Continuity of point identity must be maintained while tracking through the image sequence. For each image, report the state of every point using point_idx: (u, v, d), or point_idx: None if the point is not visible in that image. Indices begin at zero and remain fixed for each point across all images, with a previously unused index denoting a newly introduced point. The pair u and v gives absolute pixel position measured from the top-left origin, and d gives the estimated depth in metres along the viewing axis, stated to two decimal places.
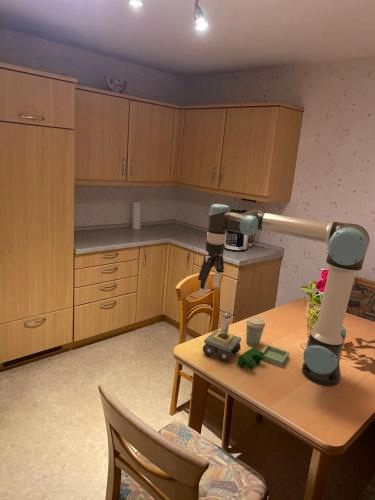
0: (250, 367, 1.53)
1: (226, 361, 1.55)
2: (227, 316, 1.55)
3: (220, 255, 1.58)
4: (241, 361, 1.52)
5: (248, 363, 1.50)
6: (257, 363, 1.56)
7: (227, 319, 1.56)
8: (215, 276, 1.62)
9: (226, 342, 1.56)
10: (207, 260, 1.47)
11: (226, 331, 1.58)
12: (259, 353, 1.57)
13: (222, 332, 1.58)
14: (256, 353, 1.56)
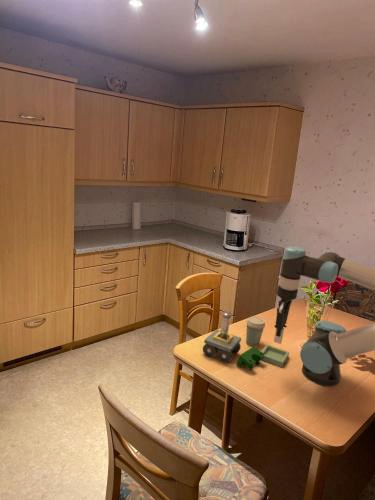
0: (250, 367, 1.53)
1: (226, 361, 1.55)
2: (227, 316, 1.55)
3: None
4: (241, 361, 1.52)
5: (247, 363, 1.50)
6: (257, 363, 1.56)
7: (227, 319, 1.56)
8: None
9: (226, 342, 1.56)
10: (281, 312, 1.39)
11: (226, 331, 1.58)
12: (259, 353, 1.57)
13: (222, 332, 1.58)
14: (255, 352, 1.56)
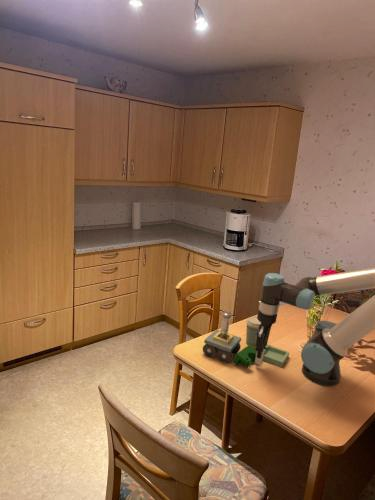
0: (246, 365, 1.54)
1: (226, 361, 1.55)
2: (227, 316, 1.55)
3: None
4: (237, 359, 1.53)
5: (244, 361, 1.51)
6: (253, 361, 1.57)
7: (227, 319, 1.56)
8: None
9: (226, 342, 1.56)
10: (261, 336, 1.45)
11: (226, 331, 1.58)
12: (255, 351, 1.58)
13: (222, 332, 1.58)
14: (251, 351, 1.57)
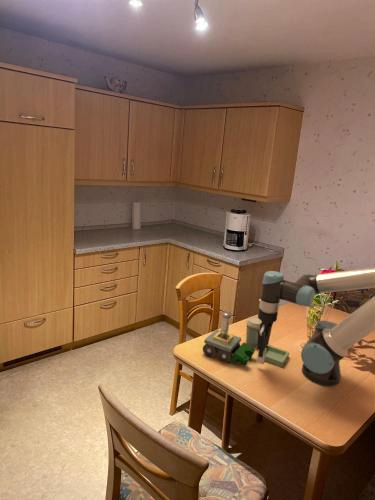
0: (244, 363, 1.55)
1: (226, 361, 1.55)
2: (227, 316, 1.55)
3: None
4: (235, 358, 1.53)
5: (243, 360, 1.52)
6: (249, 358, 1.59)
7: (227, 319, 1.56)
8: None
9: (226, 342, 1.56)
10: (262, 335, 1.44)
11: (226, 331, 1.58)
12: (250, 348, 1.60)
13: (222, 332, 1.58)
14: (247, 348, 1.59)
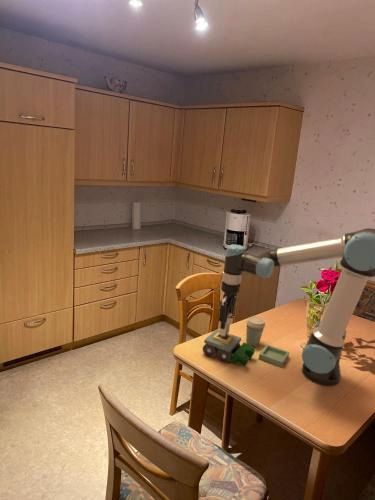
0: (244, 363, 1.55)
1: (226, 361, 1.55)
2: None
3: (234, 296, 1.59)
4: (235, 358, 1.53)
5: (243, 360, 1.52)
6: (249, 358, 1.59)
7: (228, 319, 1.56)
8: None
9: (226, 342, 1.56)
10: (223, 305, 1.50)
11: (226, 331, 1.58)
12: (250, 348, 1.60)
13: None
14: (247, 348, 1.59)
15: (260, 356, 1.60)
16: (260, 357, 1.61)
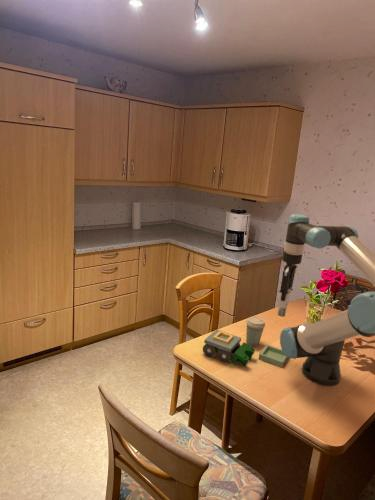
0: (244, 363, 1.55)
1: (226, 361, 1.55)
2: None
3: None
4: (235, 358, 1.53)
5: (243, 360, 1.52)
6: (248, 358, 1.59)
7: None
8: None
9: (226, 342, 1.56)
10: (286, 275, 1.47)
11: (285, 307, 1.55)
12: (250, 348, 1.60)
13: (281, 308, 1.56)
14: (247, 348, 1.59)
15: (260, 356, 1.60)
16: (260, 357, 1.61)
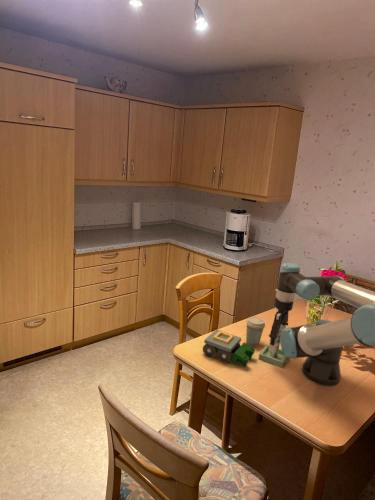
0: (244, 363, 1.55)
1: (226, 361, 1.55)
2: (279, 335, 1.58)
3: None
4: (235, 358, 1.53)
5: (243, 360, 1.52)
6: (249, 358, 1.59)
7: (279, 338, 1.59)
8: (280, 329, 1.66)
9: (226, 342, 1.56)
10: (278, 318, 1.51)
11: (277, 350, 1.61)
12: (250, 348, 1.60)
13: None
14: (247, 348, 1.59)
15: (260, 356, 1.60)
16: (260, 357, 1.61)
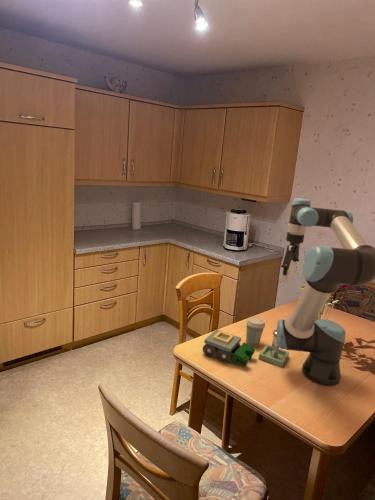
0: (244, 363, 1.55)
1: (226, 361, 1.55)
2: None
3: (297, 245, 1.72)
4: (235, 358, 1.53)
5: (243, 360, 1.52)
6: (249, 358, 1.59)
7: None
8: (291, 265, 1.77)
9: (226, 342, 1.56)
10: (290, 249, 1.62)
11: (277, 350, 1.61)
12: (250, 348, 1.60)
13: (273, 350, 1.61)
14: (247, 348, 1.59)
15: (260, 356, 1.60)
16: (260, 357, 1.61)
